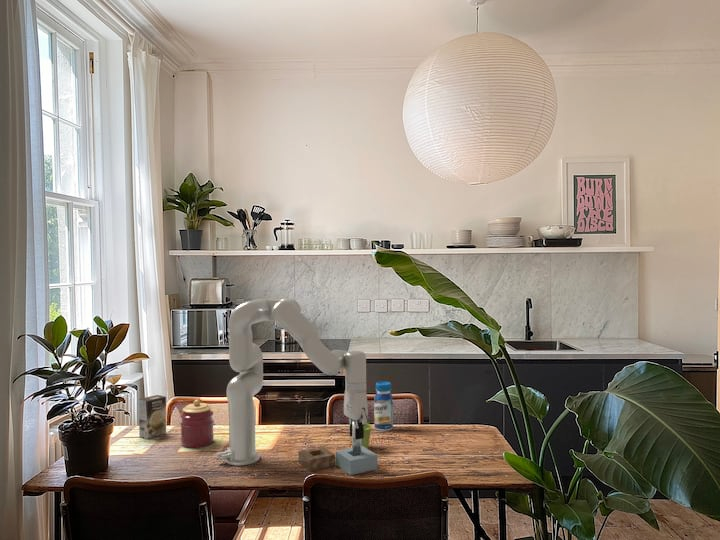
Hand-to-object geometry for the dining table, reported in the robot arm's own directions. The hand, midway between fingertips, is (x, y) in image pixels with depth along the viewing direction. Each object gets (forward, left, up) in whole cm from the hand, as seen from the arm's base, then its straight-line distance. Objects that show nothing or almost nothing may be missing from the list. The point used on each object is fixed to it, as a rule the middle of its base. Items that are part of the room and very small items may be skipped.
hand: (356, 436), depth 194 cm
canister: (-43, +56, -11) cm, 72 cm away
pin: (0, 0, -5) cm, 5 cm away
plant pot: (+11, +16, -11) cm, 22 cm away
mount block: (-11, +10, -11) cm, 19 cm away
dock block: (0, 0, -11) cm, 11 cm away
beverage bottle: (+32, +32, -11) cm, 47 cm away
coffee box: (-57, +76, -11) cm, 96 cm away
